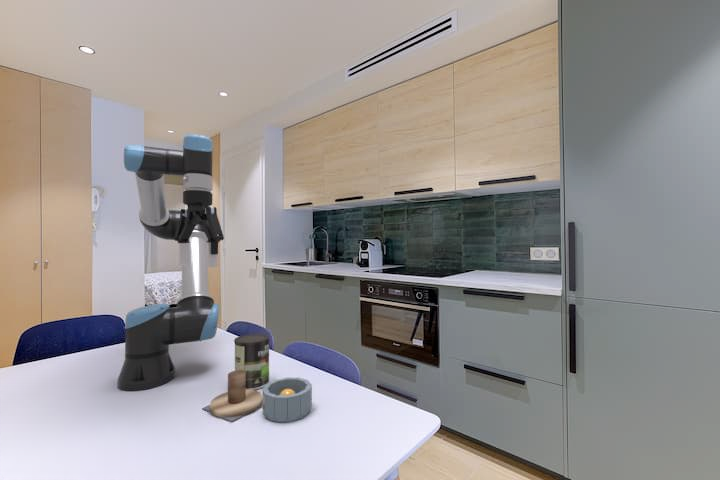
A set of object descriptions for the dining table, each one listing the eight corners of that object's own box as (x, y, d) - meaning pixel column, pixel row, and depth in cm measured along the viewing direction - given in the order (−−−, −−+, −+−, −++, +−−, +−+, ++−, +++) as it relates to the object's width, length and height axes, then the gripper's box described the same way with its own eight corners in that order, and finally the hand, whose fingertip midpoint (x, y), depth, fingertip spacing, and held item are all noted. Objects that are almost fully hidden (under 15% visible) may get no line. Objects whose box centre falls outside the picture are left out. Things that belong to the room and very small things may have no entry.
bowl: (253, 413, 84) (253, 390, 84) (287, 395, 94) (287, 374, 94) (287, 428, 77) (287, 402, 77) (320, 406, 87) (320, 383, 87)
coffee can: (275, 378, 106) (275, 334, 106) (259, 392, 96) (259, 343, 96) (245, 376, 108) (245, 332, 108) (227, 389, 98) (227, 341, 98)
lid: (199, 408, 86) (199, 376, 86) (241, 389, 97) (241, 361, 97) (231, 422, 79) (231, 388, 79) (272, 400, 90) (272, 370, 90)
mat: (202, 409, 86) (202, 407, 86) (241, 392, 96) (241, 390, 96) (231, 422, 80) (231, 421, 80) (270, 402, 90) (270, 401, 90)
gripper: (161, 193, 98) (161, 265, 97) (212, 184, 84) (212, 268, 84) (186, 196, 104) (186, 264, 104) (237, 188, 90) (237, 266, 90)
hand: (197, 266), depth 94 cm, fingers open, 13 cm apart
